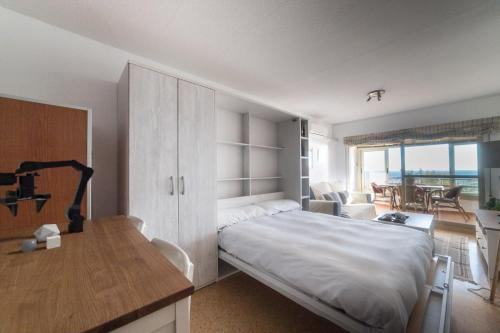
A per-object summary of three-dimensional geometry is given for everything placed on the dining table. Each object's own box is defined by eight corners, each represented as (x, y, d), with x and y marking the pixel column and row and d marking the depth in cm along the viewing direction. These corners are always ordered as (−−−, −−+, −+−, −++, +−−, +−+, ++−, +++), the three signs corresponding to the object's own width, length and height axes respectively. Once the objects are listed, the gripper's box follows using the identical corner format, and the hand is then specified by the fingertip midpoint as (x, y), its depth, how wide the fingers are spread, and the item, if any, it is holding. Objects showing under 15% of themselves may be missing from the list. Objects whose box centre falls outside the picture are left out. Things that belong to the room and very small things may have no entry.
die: (35, 241, 105) (26, 229, 99) (55, 229, 112) (48, 217, 107) (46, 248, 103) (37, 236, 97) (65, 235, 110) (58, 224, 104)
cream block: (59, 244, 99) (59, 235, 99) (60, 246, 96) (60, 237, 96) (46, 246, 96) (46, 237, 96) (47, 249, 93) (47, 239, 93)
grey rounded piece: (37, 247, 94) (37, 238, 94) (34, 250, 91) (35, 240, 91) (23, 250, 91) (23, 240, 92) (20, 253, 88) (20, 242, 88)
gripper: (37, 183, 116) (37, 210, 115) (-11, 186, 97) (-11, 218, 97) (52, 183, 113) (52, 211, 113) (6, 186, 95) (6, 219, 95)
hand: (26, 214), depth 105 cm, fingers open, 9 cm apart
